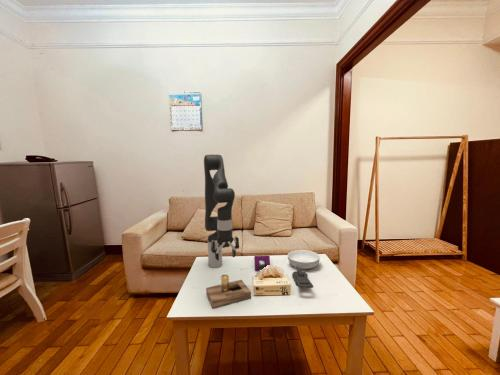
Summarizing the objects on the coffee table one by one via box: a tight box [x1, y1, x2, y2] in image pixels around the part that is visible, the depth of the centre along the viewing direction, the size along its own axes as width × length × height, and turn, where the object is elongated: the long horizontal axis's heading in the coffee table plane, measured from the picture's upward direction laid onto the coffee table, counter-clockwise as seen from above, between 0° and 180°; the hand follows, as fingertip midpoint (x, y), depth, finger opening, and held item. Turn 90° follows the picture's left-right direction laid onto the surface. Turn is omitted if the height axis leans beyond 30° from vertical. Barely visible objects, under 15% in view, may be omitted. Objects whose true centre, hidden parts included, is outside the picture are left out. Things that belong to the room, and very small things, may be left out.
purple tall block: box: [253, 255, 271, 271], centre depth 157 cm, size 9×8×18 cm
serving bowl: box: [287, 249, 321, 270], centre depth 156 cm, size 21×21×7 cm
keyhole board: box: [205, 279, 252, 310], centre depth 122 cm, size 13×20×4 cm, turn 114°
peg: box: [220, 274, 230, 292], centre depth 121 cm, size 4×4×11 cm
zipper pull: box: [291, 267, 314, 289], centre depth 132 cm, size 9×7×25 cm
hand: (225, 258), depth 121 cm, fingers open, 8 cm apart
